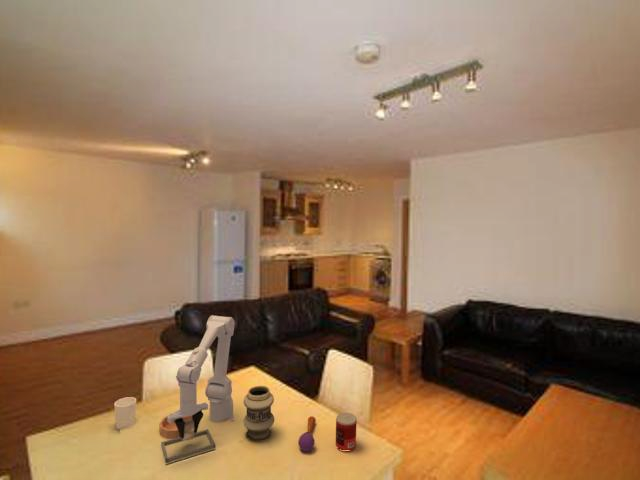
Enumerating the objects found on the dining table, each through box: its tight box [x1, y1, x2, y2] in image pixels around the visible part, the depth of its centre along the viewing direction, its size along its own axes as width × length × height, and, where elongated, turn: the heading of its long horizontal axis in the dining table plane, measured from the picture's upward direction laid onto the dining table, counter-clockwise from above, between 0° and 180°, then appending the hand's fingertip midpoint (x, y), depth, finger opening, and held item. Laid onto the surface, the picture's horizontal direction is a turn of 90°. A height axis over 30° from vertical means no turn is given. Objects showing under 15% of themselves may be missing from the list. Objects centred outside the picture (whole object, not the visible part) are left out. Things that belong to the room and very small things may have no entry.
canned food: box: [335, 412, 357, 451], centre depth 136 cm, size 8×8×11 cm
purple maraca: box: [298, 416, 317, 452], centre depth 141 cm, size 6×6×20 cm
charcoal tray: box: [160, 429, 217, 467], centre depth 132 cm, size 17×11×2 cm, turn 121°
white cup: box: [113, 396, 137, 431], centre depth 146 cm, size 8×8×10 cm
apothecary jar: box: [243, 385, 275, 443], centre depth 142 cm, size 12×12×18 cm
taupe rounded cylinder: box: [182, 419, 195, 441], centre depth 132 cm, size 4×4×6 cm
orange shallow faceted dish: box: [158, 413, 192, 439], centre depth 144 cm, size 14×14×4 cm
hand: (188, 434), depth 132 cm, fingers closed on taupe rounded cylinder, 4 cm apart
